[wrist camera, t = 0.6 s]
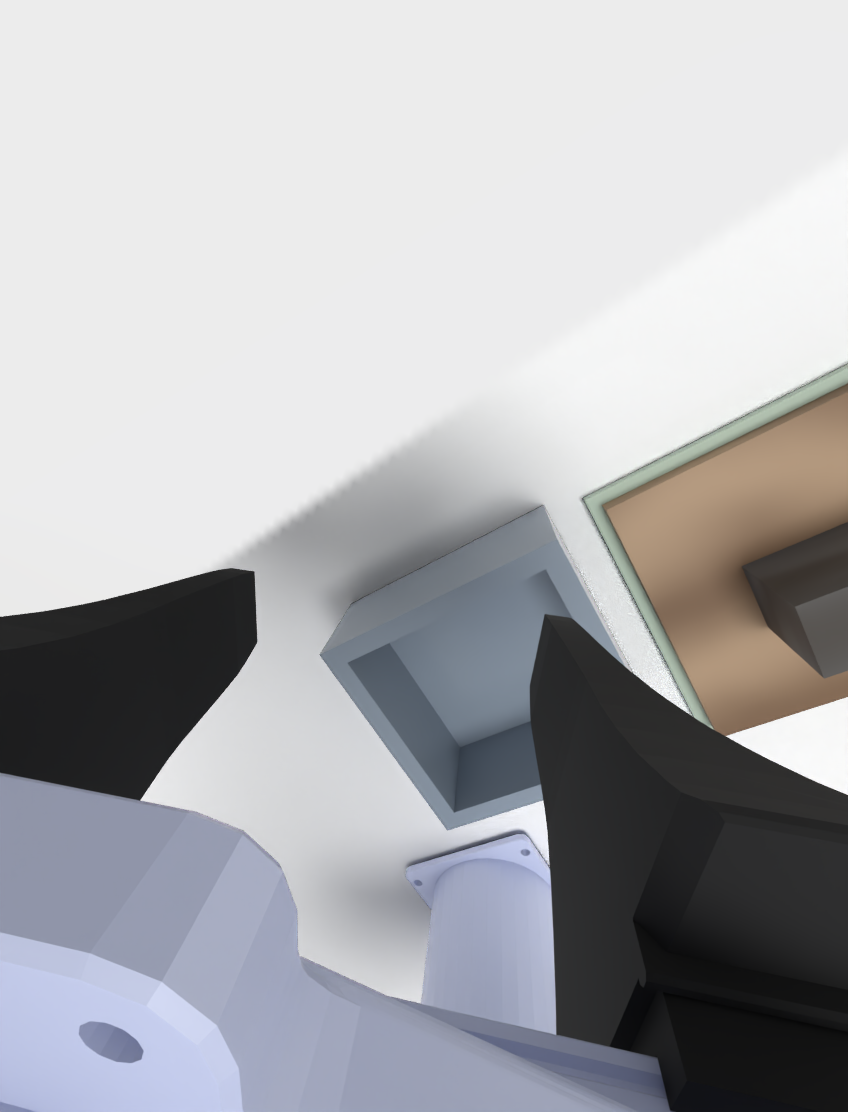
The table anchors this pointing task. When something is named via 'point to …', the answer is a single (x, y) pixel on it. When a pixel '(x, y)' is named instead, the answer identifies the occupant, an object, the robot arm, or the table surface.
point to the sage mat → (670, 463)
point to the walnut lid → (752, 565)
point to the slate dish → (464, 664)
